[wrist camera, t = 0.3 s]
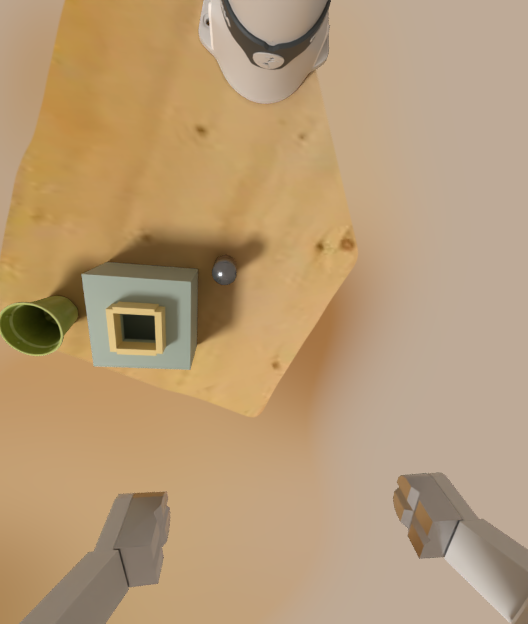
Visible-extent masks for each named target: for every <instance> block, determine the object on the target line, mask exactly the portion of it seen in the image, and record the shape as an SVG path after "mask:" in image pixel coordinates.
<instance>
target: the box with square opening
mask: <svg viewBox="0 0 528 624" xmlns="http://www.w3.org/2000/svg"><path fill="white" fill-rule="evenodd" d="M81 275H82V282H83V290H84V297H85V305H86V312H87V320H88V327H89V335H90V342H91V350H92V357H93V365H94V366H101V367H129V368H157V369H186V370H190V369H191V365H192V361H193V358H194V354H195V351H196V347H197V310H198V269H192V268H179V267H166V266H153V265H140V264H127V263H114V262H106V263H104V264H102V265H99V266H97V267H95V268H93V269H91V270H89V271H87V272H85V273H83V274H81Z"/></svg>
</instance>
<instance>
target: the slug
mask: <svg viewBox="0 0 528 624" xmlns="http://www.w3.org/2000/svg"><path fill="white" fill-rule="evenodd" d="M212 276H213V278H214V280H215V281H216V282H217V283H219V284H221V285H228V284H230V283H232V282H233V281H234V280H235V278H236V262H235V260H234V259H233V258H232V257H231V256H228V255H222V256H220V257H218V258H217V260H216V262H215V264H214V267H213V270H212Z"/></svg>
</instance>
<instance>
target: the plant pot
mask: <svg viewBox="0 0 528 624" xmlns="http://www.w3.org/2000/svg"><path fill="white" fill-rule="evenodd" d="M77 318H78V310H77V307H76V306H75V305H74V304H73V303H72V302H71V301H70V300H69V299H67V298H65V297H62V296H51V297H48V298H44V299H41V300H38V301H34V302H18V303H14V304H11V305H9V306H7V307H5V308H4V309H3V310H2V311H1V313H0V334H1V336H2V338H3V339H4V340H5V342H7V344H8V345H10V346H11V347H12V348H14V349H16V350H17V351H19V352H21V353H24V354H27V355H32V356H44V355H48V354H50V353H52V352H54V351H56V350H57V349H58V348H59V347H60V345H61V344H62V342H63V338H64V335H65V333H66V332H67V331H68V330H69V329H70V327H71V326H72V325H73V324H74V323H75V321H76V320H77Z"/></svg>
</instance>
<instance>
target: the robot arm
mask: <svg viewBox="0 0 528 624" xmlns="http://www.w3.org/2000/svg"><path fill="white" fill-rule="evenodd" d="M330 2H331V0H204V1H203V7H202V12H201V18H200V24H199V38H200V41H201V42H202V44H203V45H204V46H205V48H206V49H207V50H208V51H209V52H210V53H211V54H212V55H213V56H214V57H215V58H216V60H217V62H218V64H219V66H220V68H221V70H222V72H223V74H224V76H225V78H226V79H227V81H228V82H229V84H230V85H231V86H232V87H233V88H234V89H235V90H236V91H237V92H238V93H239V94H240V95H242V96H243V97H245V98H246V99H248V100H251V101H253V102H257V103H263V104H268V103H275V102H278V101H281V100H283V99H285V98H287V97H288V96H290V95H291V94H292V93H294V92H295V91H296V90H297V89H298V87H299V86H300V85H301V83H302V82H303V81H304V79H305V78H306V77H307V75H308V74H309V73H310V72H312V71H314V70H315V69H317V68H318V67H320V66H321V65H322V64H323V63H324V62H325V61H326V59H327V56H328V52H329V40H328V37H329V36H328V32H329V28H330V26H329V24H328V9H329V6H330ZM208 21H209V25H210V26H208V25H207V24H206V23H207V22H208ZM397 483H398V485H399V488H398V489H397V490H395V491H394V496H393V502H394V508H395V510H396V514H397V516H398V518H399V520H400V521H401V522H402V523H403V524H404V525H405V526H406V527H407V528H408V537H409V539H410V541H411V543H412V545H413V547H414V549H415V551H416V553H417V555H418V557H419V558H436V557H445V560H446V561H447V562H448V563H449V564H450V565H451V566H452V567H453V568H454V569H455V570H456V571H457V572H458V573H459V574H460V575H462V577H464V579H466V581H467V582H469V583H470V584H471V585H472V586H473V587H474V588H475V589H476V590H477V591H478V592H479V593H480V594H481V595H482V596H483V597H484V598H485V599H486V600H487V601H488V602H489V603H490V604H491V605H492V606H493V607H494V608H495V609H496V610H497V611H498V612H499V613H500V614H501V615H502V616H503V617H504V618H505V619H506V620H507V621H508V622H509V623H510V624H528V549H526V548H524V547H523V546H522V545H520V544H519V543H517V542H516V541H514V540H513V539H512V538H510V537H509V536H507V535H506V534H504V533H503V532H501V531H500V530H498V529H497V528H496V527H494V526H493V525H491V524H490V523H488V522H487V521H485V520H484V519H478V517H477V516H476V514H475V513H474V512H473V511H472V509H471V508H470V507H469V505H468V504H467V503H466V501H465V500H464V499H463V498H462V496H461V495H460V494H459V492H458V491H457V490H456V488H455V487H454V486H453V485H452V483H451V482H450V481H449V479H448V478H447V477H446V476H445V475H444V474H443V473H430V474H429V473H428V474H427V473H422V474H412V475H411V474H410V475H401V476H400V477H398V480H397ZM167 501H168V496H167V492H148V493H127V494H119V495H118V496H117V497H116V499H115V501H114V503H113V506H112V508H111V510H110V513H109V515H108V517H107V520H106V522H105V525H104V527H103V530H102V532H101V535H100V537H99V539H98V542H97V544H96V547H95V549H94V552H88V553H87V554H86V555H85V556H84V557H83V558H82V559H81V560H80V562H78V563H77V564H76V566H75V567H73V569H72V570H71V571H70V572H69V573H68V574H67V575H66V576H65V577H64V578H63V579H62V580H61V581H60V582H59V583H58V584H57V585H56V586H55V587H54V588H53V589H52V590H51V591H50V592H49V593H48V594H47V595H46V597H44V599H43V600H42V601H41V602H40V603H39V604H38V605H37V606H36V607H35V608H34V609H33V610H32V611H31V612H30V613H29V614H28V615H27V616H26V617H25V618H24V619H23V620H22V621H21V622H20V623H19V624H106V622H107V621H108V619H109V618H110V616H111V615H112V613H113V612H114V610H115V609H116V608H117V606H118V604H119V603H120V602H121V600H122V599H123V597H124V596H125V594H126V593H127V591H128V590H129V588H128V587H135V586H143V585H151V584H158V581H159V577H160V572H161V567H162V563H163V558H164V557H163V551H162V547H163V545H164V544H165V543H166V542H167V538H168V533H169V526H170V508H169V507H168V506H167Z"/></svg>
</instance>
